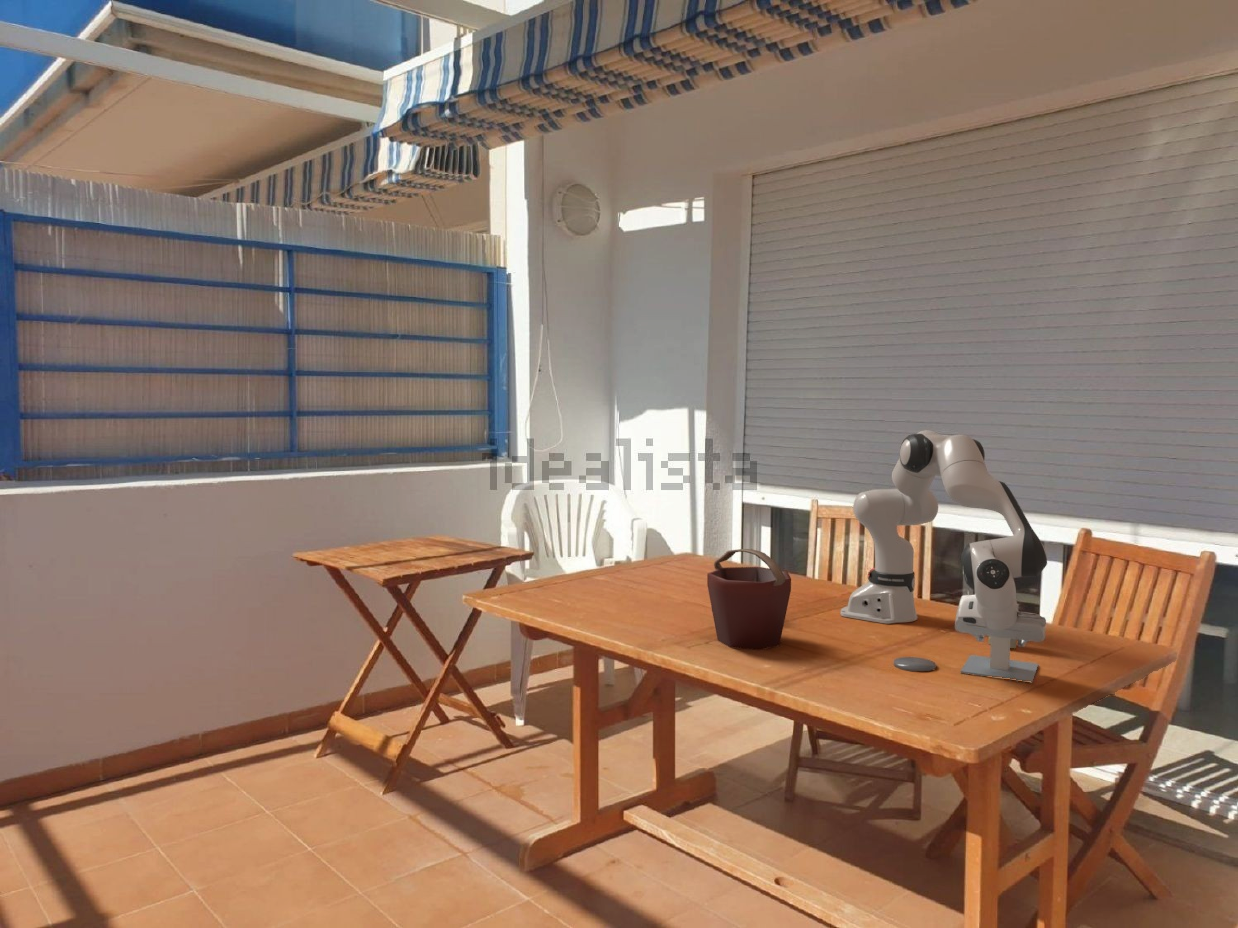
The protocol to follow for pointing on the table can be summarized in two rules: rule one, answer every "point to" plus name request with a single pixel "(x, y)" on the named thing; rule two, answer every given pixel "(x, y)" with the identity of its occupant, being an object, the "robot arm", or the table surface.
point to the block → (1000, 653)
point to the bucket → (749, 602)
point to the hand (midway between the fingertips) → (1001, 641)
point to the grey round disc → (914, 664)
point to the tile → (1015, 670)
